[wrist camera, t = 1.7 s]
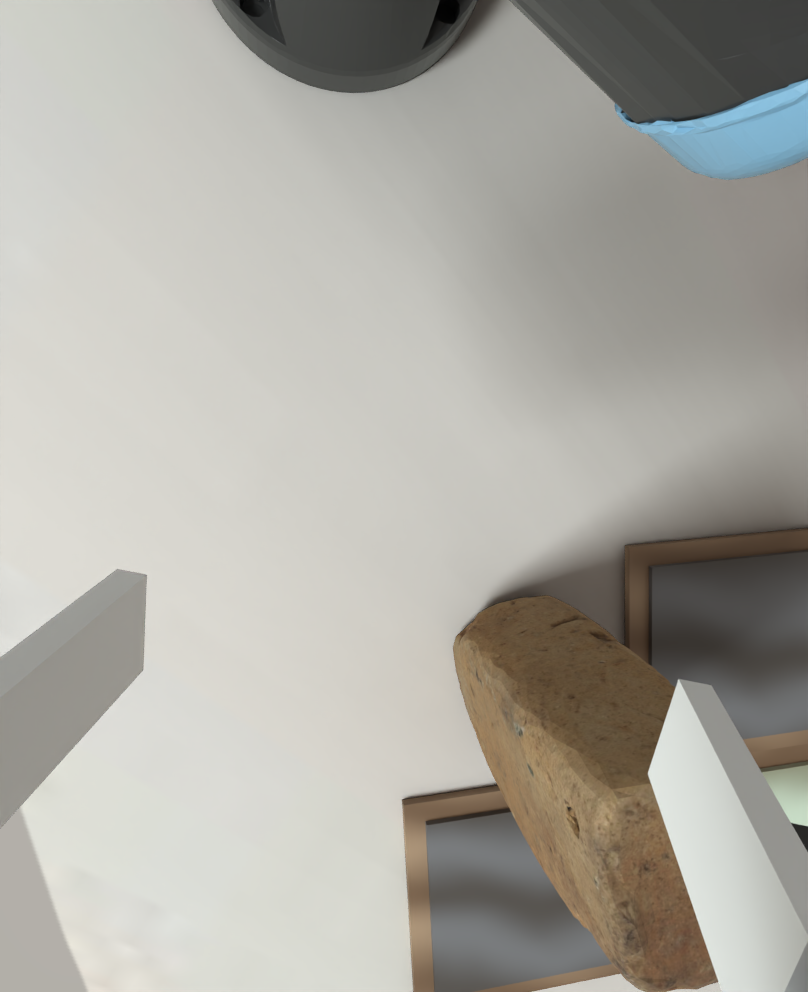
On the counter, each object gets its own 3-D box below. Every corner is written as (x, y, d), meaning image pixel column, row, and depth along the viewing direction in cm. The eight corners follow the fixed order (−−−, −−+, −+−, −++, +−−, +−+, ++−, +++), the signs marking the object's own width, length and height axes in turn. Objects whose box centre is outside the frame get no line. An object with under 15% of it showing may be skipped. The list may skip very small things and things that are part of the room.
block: (439, 606, 40) (579, 803, 21) (555, 576, 41) (792, 738, 22) (472, 766, 42) (627, 1083, 23) (581, 734, 43) (821, 1011, 24)
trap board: (388, 568, 39) (391, 572, 38) (835, 525, 44) (848, 528, 43) (414, 1006, 44) (416, 1020, 43) (816, 925, 49) (826, 936, 48)
